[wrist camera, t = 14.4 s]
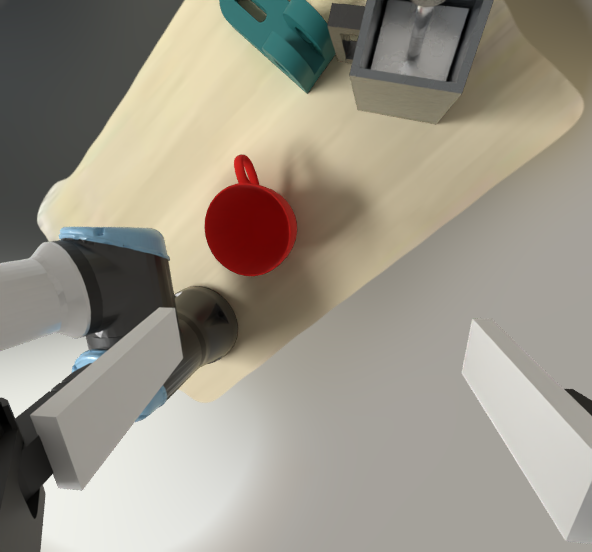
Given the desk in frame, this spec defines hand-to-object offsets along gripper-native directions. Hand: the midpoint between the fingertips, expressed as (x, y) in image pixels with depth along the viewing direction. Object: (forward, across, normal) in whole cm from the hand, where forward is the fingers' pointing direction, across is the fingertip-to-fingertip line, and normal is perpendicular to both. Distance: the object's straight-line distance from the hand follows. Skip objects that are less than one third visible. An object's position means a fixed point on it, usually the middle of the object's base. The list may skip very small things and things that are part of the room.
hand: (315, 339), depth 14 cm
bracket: (+42, -8, +26) cm, 49 cm away
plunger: (+31, +10, +19) cm, 38 cm away
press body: (+38, +9, +19) cm, 44 cm away
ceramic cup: (+40, -10, 0) cm, 41 cm away
